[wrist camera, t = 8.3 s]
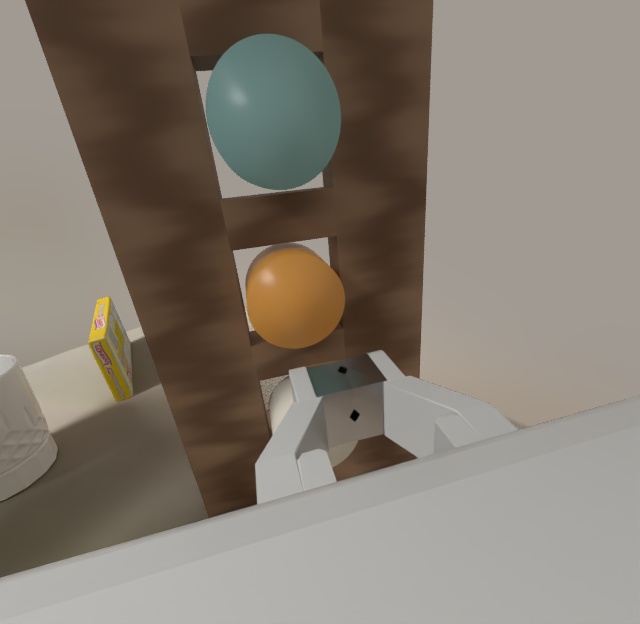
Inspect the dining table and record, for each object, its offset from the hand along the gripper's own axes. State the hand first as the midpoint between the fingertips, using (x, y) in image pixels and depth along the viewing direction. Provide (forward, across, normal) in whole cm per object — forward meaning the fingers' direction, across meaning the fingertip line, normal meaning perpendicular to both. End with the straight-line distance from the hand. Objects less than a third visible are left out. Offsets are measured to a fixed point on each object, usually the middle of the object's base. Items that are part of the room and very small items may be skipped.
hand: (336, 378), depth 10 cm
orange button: (+9, 0, +3) cm, 9 cm away
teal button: (+7, 0, -5) cm, 9 cm away
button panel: (+13, 0, +16) cm, 21 cm away
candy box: (+35, +22, +16) cm, 44 cm away
